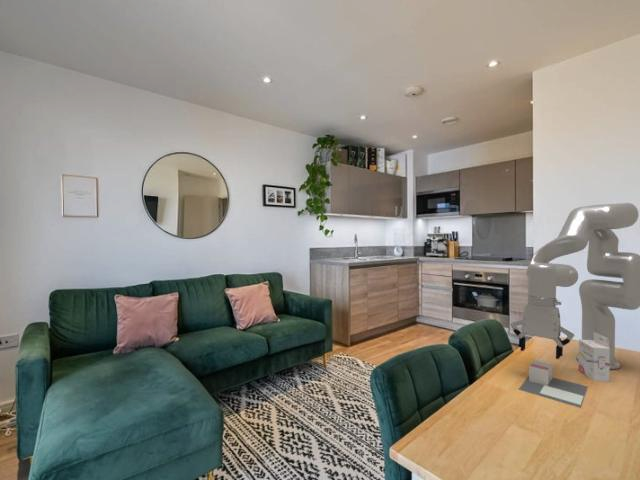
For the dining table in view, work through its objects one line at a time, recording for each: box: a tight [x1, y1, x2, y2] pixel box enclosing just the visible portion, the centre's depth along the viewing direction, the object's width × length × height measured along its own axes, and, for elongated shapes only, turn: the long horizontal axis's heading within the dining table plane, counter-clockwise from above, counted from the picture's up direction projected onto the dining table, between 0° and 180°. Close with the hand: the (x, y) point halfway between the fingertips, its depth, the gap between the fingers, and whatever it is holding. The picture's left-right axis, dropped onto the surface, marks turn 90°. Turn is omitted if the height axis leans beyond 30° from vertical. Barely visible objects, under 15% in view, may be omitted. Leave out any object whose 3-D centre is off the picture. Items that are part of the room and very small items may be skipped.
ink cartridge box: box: [578, 332, 610, 383], centre depth 108 cm, size 9×5×15 cm, turn 168°
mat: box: [518, 375, 588, 409], centre depth 99 cm, size 18×15×1 cm
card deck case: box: [528, 359, 553, 386], centre depth 105 cm, size 8×5×5 cm, turn 135°
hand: (539, 353), depth 105 cm, fingers open, 9 cm apart
